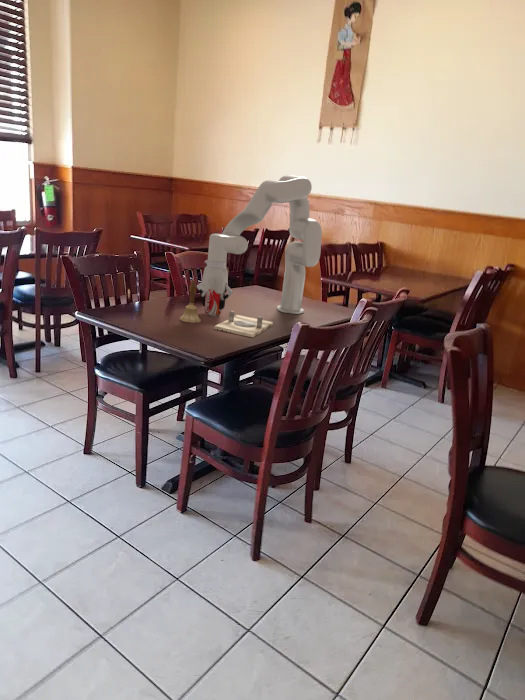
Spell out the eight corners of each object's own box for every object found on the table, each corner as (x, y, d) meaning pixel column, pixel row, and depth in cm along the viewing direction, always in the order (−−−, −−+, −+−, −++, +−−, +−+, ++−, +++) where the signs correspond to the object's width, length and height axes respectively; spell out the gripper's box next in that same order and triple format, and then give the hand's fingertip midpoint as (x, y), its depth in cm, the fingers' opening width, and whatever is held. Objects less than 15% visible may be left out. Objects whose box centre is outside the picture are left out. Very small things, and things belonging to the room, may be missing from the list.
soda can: (218, 317, 206) (220, 289, 202) (201, 315, 207) (204, 286, 204) (222, 313, 213) (225, 286, 209) (206, 311, 214) (209, 283, 210)
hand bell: (204, 319, 201) (207, 280, 196) (194, 324, 193) (197, 283, 188) (185, 315, 203) (188, 277, 198) (175, 320, 196) (178, 279, 191)
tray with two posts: (237, 317, 210) (238, 305, 208) (272, 325, 205) (274, 312, 203) (214, 329, 190) (215, 315, 188) (253, 337, 185) (254, 324, 184)
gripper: (193, 262, 203) (190, 305, 208) (232, 269, 198) (228, 312, 203) (201, 260, 210) (198, 302, 215) (239, 267, 204) (235, 309, 210)
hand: (213, 307), depth 209 cm, fingers closed on soda can, 7 cm apart
